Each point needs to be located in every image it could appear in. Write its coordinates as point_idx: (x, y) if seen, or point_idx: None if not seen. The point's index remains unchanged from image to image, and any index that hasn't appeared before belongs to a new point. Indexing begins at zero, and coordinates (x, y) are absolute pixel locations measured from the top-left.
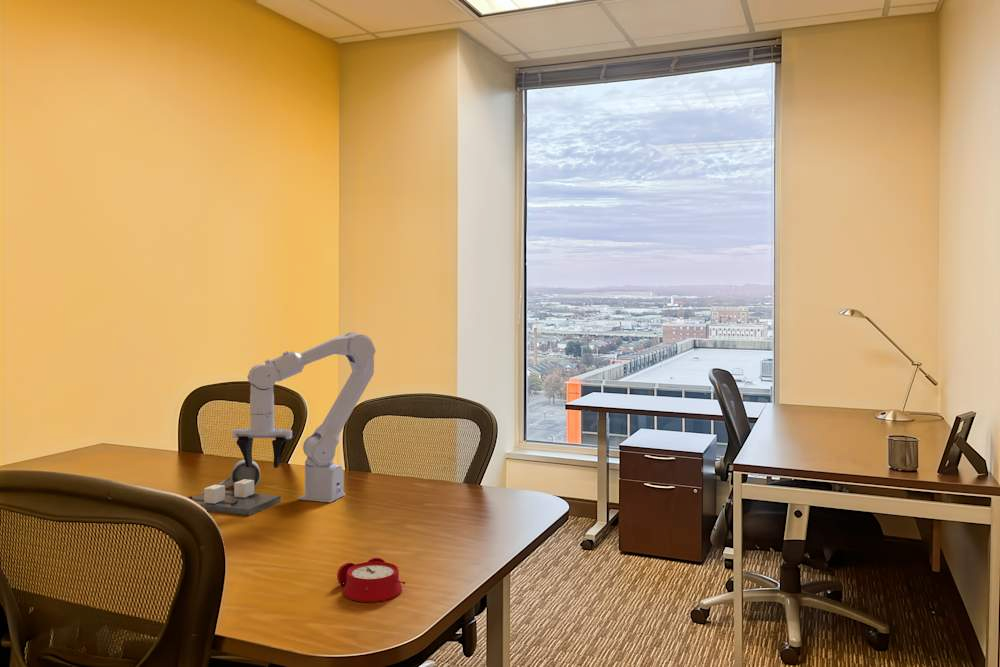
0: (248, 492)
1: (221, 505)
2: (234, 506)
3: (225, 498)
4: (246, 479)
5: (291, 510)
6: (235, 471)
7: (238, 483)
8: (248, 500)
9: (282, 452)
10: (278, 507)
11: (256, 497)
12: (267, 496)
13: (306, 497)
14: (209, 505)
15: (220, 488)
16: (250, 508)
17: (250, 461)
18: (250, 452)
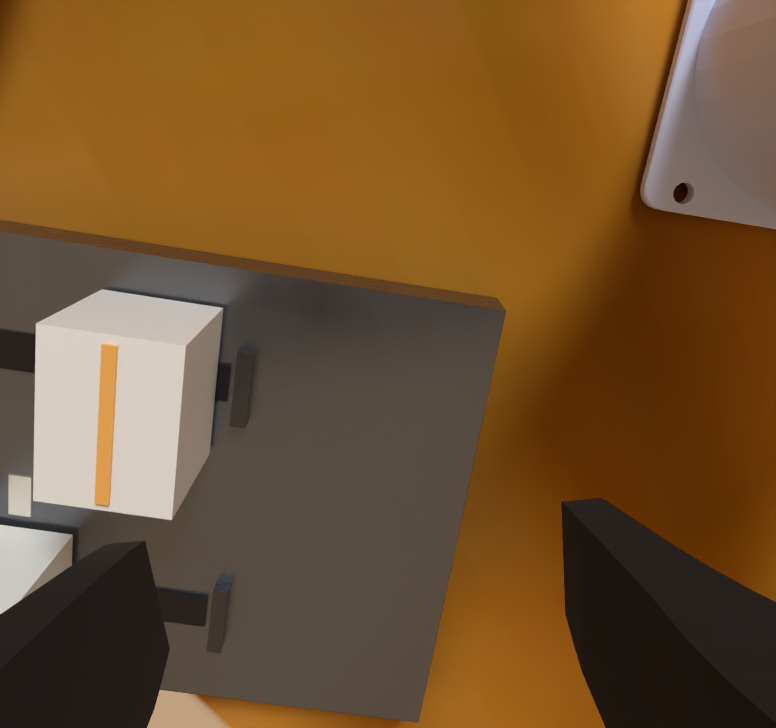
0: (205, 410)
1: None
2: (263, 673)
3: None
4: (70, 330)
5: (683, 513)
6: None
7: (90, 506)
8: (281, 503)
9: (761, 600)
10: (546, 456)
11: (299, 399)
12: (386, 348)
13: (730, 182)
14: None
15: None
16: (417, 697)
17: (126, 632)
18: (34, 722)
